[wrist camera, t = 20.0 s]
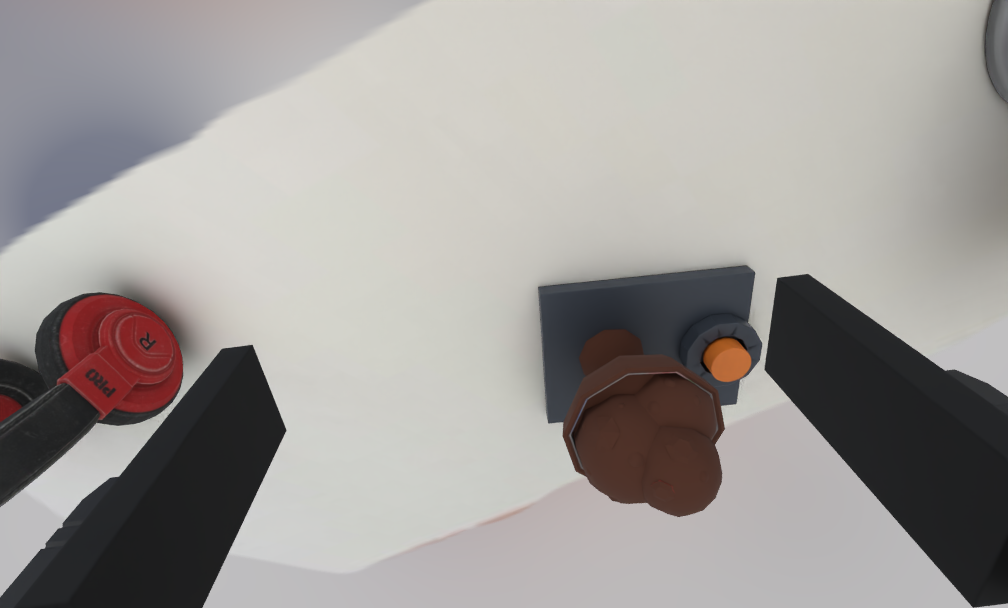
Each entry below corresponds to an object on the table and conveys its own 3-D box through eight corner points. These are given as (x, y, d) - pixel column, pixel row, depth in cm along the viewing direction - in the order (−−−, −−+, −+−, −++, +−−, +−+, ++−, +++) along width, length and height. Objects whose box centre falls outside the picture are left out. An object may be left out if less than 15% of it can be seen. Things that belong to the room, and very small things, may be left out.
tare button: (743, 335, 42) (754, 346, 40) (739, 368, 43) (748, 380, 42) (704, 339, 42) (713, 350, 40) (701, 371, 43) (709, 384, 42)
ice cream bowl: (661, 280, 41) (752, 398, 27) (684, 389, 46) (770, 534, 32) (532, 321, 42) (559, 454, 28) (568, 423, 47) (606, 576, 33)
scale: (754, 264, 42) (772, 280, 39) (735, 394, 48) (751, 415, 45) (538, 286, 42) (542, 303, 39) (546, 413, 48) (550, 435, 45)
